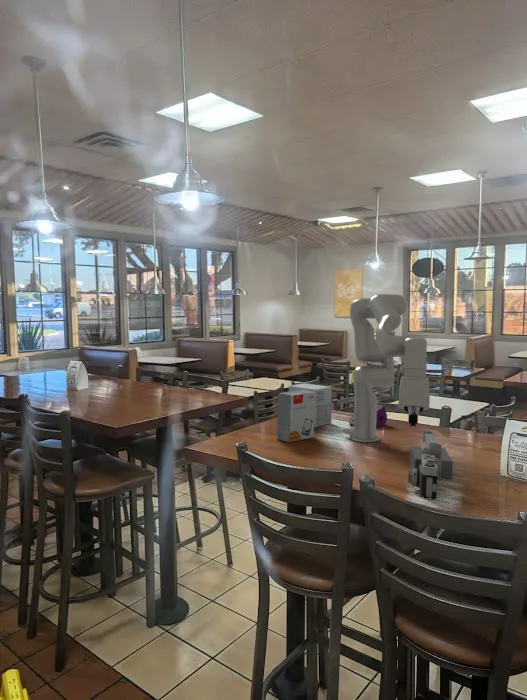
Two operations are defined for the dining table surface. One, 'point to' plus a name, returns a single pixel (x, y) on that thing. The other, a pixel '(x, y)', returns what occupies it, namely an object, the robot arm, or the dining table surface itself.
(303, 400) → the hard drive box
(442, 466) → the chassis
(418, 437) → the dining table surface
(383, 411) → the mounting bracket
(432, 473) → the camera
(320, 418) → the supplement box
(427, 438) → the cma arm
